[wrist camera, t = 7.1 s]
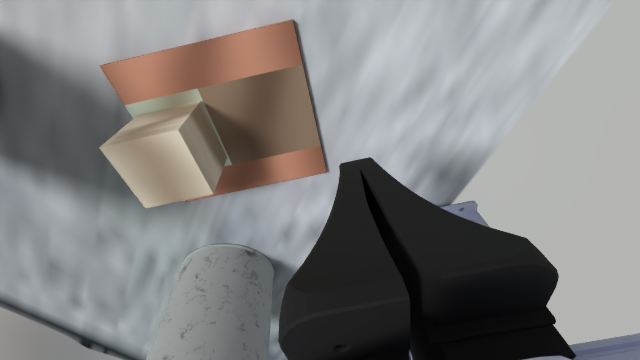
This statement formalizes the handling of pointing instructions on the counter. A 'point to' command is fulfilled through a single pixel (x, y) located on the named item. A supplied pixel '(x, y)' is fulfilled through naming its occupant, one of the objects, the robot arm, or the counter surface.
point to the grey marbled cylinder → (218, 307)
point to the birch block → (168, 155)
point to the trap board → (235, 101)
